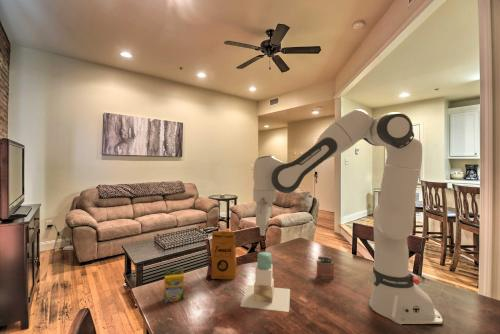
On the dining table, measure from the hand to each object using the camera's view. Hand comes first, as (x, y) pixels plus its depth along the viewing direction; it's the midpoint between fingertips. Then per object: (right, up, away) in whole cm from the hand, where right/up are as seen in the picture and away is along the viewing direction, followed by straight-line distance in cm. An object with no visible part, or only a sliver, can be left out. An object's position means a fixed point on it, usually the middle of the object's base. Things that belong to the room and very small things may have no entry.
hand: (264, 231), depth 96 cm
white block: (0, -20, 0) cm, 20 cm away
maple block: (0, -26, 0) cm, 26 cm away
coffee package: (-18, -27, +19) cm, 37 cm away
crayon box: (-36, -27, 0) cm, 45 cm away
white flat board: (+1, -27, 0) cm, 27 cm away
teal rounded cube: (0, -14, 0) cm, 14 cm away
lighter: (+30, -27, +19) cm, 45 cm away
